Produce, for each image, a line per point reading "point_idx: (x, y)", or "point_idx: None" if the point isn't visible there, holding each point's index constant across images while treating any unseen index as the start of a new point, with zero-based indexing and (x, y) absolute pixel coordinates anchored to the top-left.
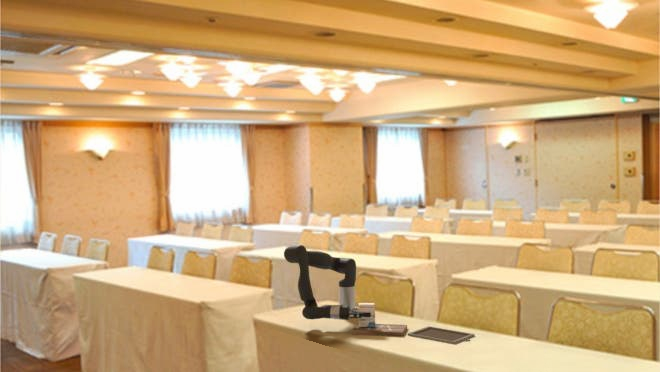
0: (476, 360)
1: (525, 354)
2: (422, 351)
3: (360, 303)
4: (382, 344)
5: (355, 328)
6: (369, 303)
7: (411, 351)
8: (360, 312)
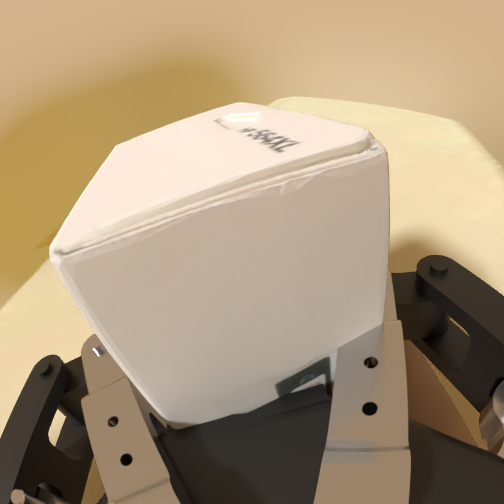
0: (397, 116)
1: (316, 112)
2: (430, 149)
3: (158, 184)
4: (482, 215)
5: None
6: (150, 140)
7: (454, 157)
8: (387, 291)
